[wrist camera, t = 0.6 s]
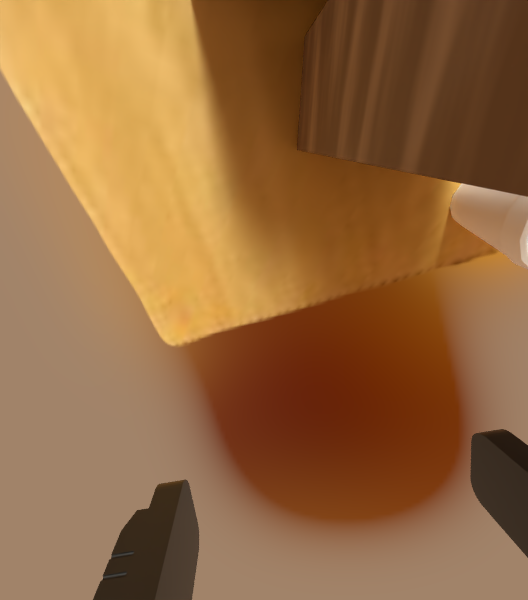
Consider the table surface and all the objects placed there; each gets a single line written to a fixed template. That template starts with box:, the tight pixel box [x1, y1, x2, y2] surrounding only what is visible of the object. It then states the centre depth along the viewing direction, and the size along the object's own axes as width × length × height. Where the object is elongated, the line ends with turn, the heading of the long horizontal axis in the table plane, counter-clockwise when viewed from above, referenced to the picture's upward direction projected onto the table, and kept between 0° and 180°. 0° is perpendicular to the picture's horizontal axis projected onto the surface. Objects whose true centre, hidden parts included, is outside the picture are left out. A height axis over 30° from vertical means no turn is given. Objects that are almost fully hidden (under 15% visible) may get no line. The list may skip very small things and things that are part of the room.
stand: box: [297, 0, 528, 197], centre depth 19 cm, size 16×10×32 cm, turn 89°
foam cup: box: [450, 184, 528, 269], centre depth 33 cm, size 10×9×13 cm
